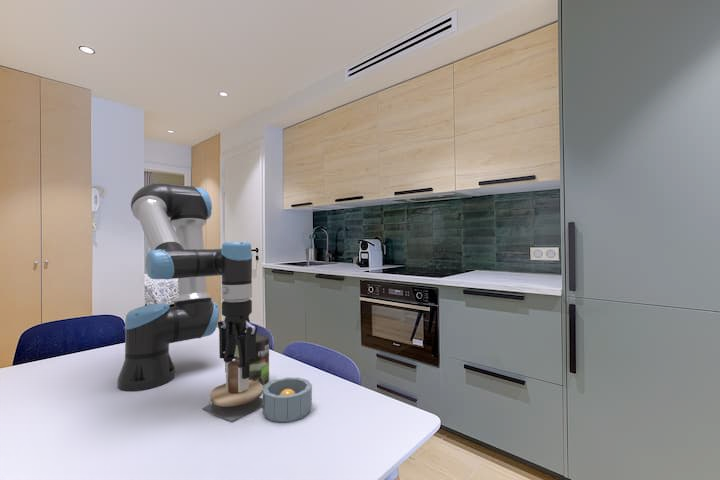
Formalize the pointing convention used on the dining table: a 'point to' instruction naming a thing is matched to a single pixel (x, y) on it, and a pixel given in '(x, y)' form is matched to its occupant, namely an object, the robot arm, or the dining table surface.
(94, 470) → the dining table surface
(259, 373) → the coffee can
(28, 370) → the dining table surface
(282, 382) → the bowl
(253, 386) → the lid
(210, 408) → the mat
